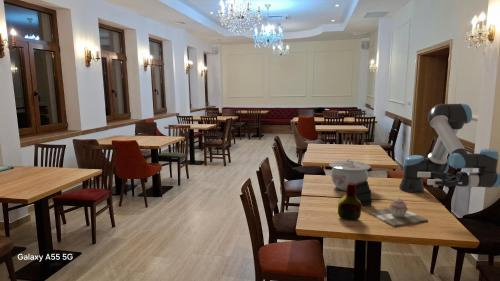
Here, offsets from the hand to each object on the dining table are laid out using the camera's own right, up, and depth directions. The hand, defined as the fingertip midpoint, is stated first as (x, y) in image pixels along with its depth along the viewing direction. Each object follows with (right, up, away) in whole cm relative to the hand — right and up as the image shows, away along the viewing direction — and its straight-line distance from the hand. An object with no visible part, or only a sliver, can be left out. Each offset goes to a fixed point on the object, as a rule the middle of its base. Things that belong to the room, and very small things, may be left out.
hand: (422, 178), depth 172 cm
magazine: (-25, -19, +25) cm, 40 cm away
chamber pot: (-22, -14, +56) cm, 62 cm away
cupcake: (-11, -21, +5) cm, 24 cm away
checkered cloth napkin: (-11, -22, +6) cm, 25 cm away
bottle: (-38, -22, +4) cm, 44 cm away
